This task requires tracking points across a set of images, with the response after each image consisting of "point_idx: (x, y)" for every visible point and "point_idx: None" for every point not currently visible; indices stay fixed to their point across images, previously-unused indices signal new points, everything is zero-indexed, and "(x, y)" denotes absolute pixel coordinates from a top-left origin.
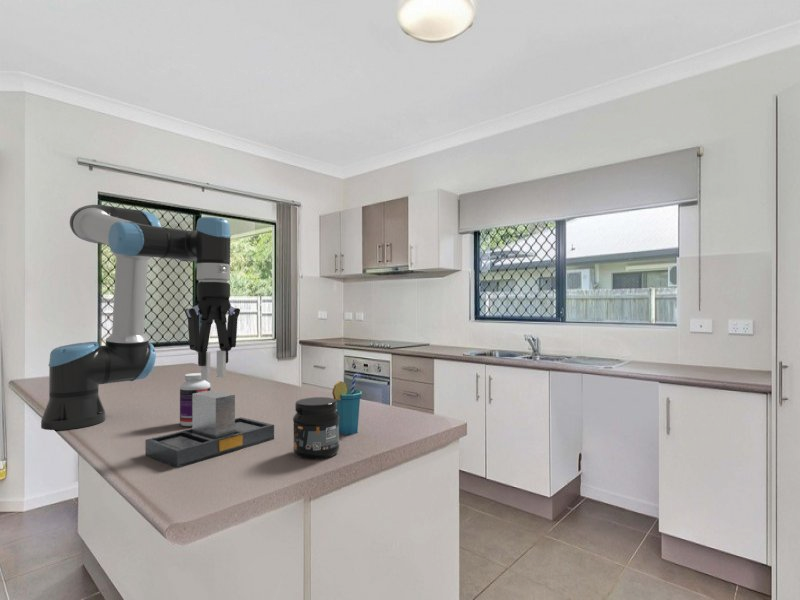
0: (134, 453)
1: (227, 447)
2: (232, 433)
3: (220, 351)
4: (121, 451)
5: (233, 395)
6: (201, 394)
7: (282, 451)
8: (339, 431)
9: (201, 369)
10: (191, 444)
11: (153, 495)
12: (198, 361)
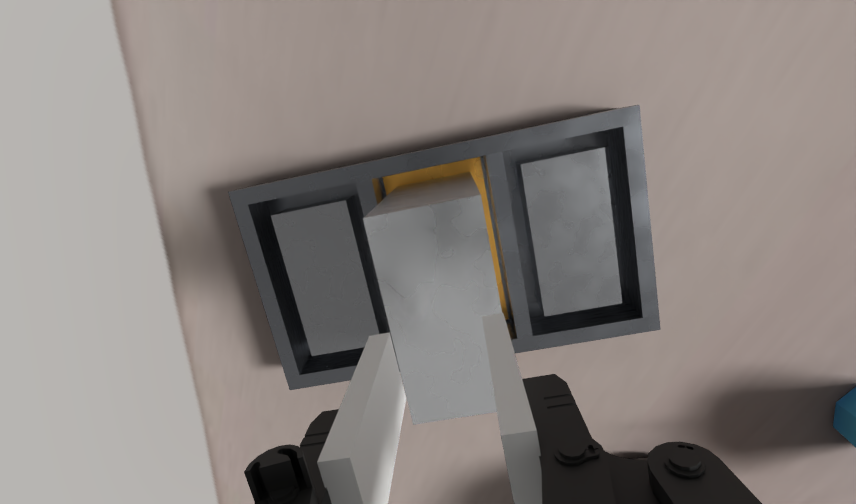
0: (226, 133)
1: None
2: None
3: (513, 494)
4: (192, 74)
5: None
6: (392, 280)
7: None
8: (840, 410)
9: (357, 371)
10: (348, 331)
11: (230, 486)
12: (306, 439)
